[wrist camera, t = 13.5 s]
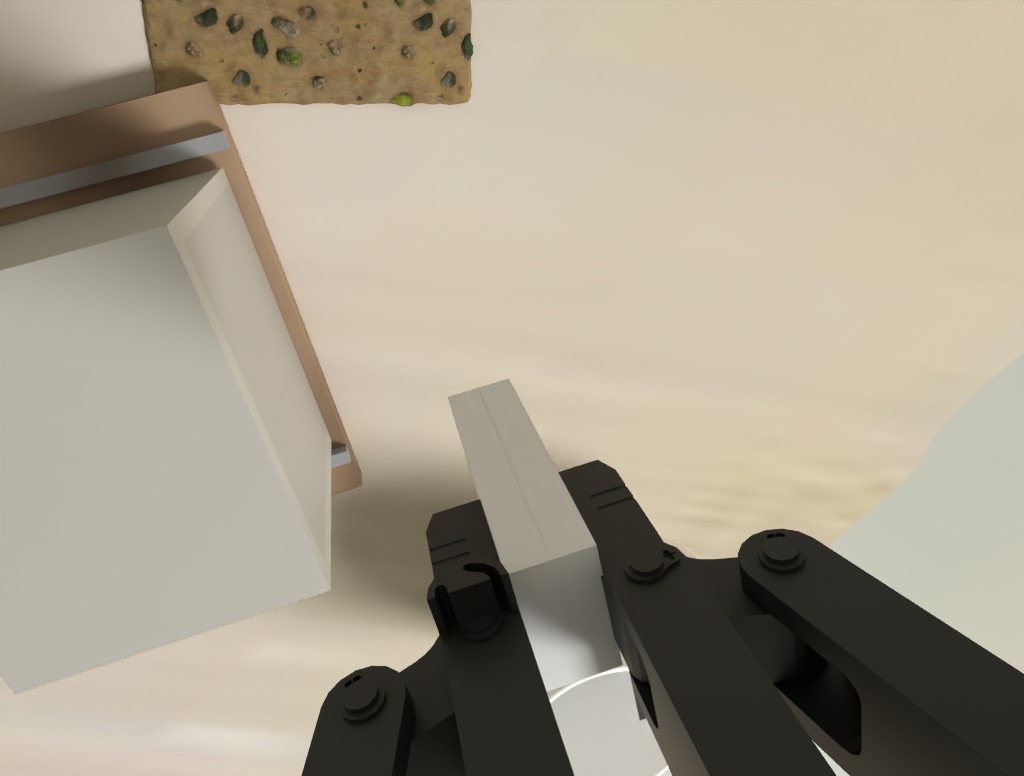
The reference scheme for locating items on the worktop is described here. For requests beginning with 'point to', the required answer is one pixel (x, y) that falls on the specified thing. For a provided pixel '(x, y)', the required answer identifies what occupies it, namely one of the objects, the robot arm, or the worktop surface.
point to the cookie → (313, 50)
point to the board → (147, 162)
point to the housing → (148, 433)
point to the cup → (607, 722)
